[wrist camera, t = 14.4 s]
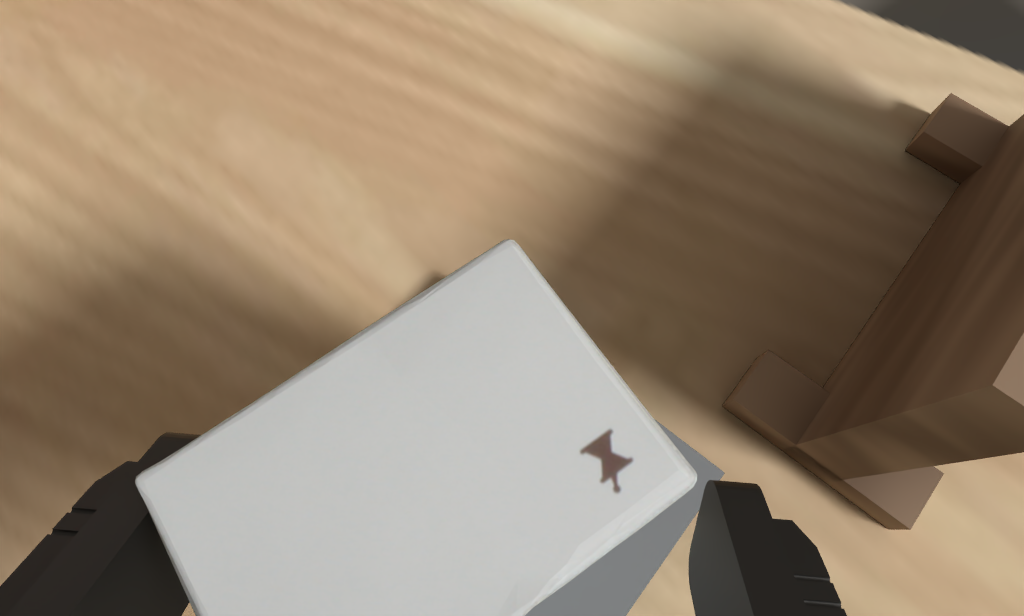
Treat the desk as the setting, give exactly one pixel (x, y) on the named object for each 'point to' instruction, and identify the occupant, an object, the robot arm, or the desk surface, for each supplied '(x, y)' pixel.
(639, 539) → the grey mat
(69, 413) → the desk surface
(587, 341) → the skincare box
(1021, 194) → the walnut screen
